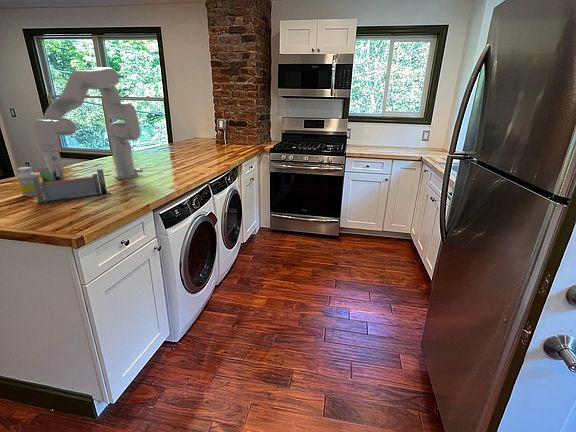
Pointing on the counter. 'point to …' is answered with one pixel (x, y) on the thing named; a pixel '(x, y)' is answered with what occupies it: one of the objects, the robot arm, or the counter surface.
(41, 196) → the gate frame
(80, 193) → the gate
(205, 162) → the counter surface
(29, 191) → the supplement bottle
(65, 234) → the counter surface
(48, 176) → the food container
